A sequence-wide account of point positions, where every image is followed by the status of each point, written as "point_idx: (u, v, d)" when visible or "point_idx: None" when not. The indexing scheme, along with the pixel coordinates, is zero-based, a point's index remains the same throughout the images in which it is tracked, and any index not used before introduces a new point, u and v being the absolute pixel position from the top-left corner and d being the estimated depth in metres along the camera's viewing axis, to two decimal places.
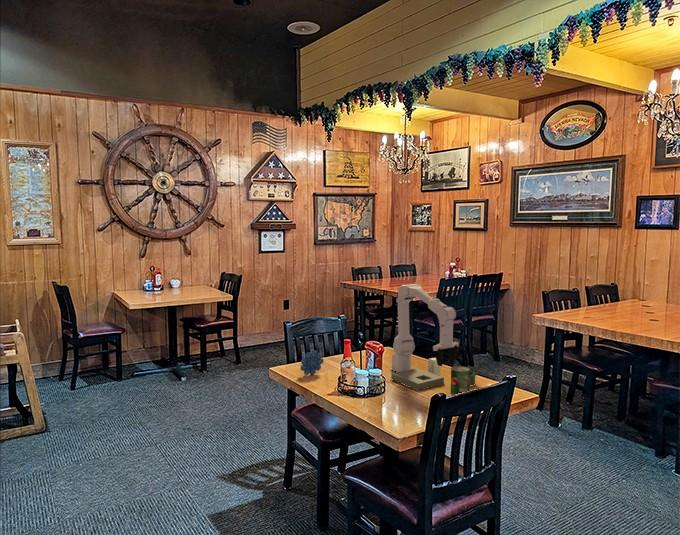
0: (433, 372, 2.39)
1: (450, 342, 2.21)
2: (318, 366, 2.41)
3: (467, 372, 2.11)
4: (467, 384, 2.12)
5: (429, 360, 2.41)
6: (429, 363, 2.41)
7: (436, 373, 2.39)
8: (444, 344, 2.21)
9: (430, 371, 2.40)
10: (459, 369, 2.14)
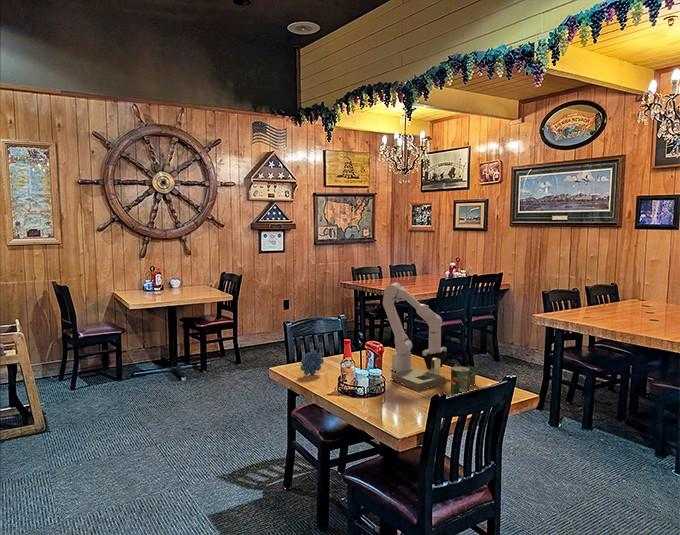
0: (433, 372, 2.39)
1: (438, 347, 2.38)
2: (318, 366, 2.41)
3: (467, 372, 2.11)
4: (467, 384, 2.12)
5: None
6: None
7: (436, 373, 2.39)
8: (433, 349, 2.38)
9: (430, 371, 2.40)
10: (459, 369, 2.14)
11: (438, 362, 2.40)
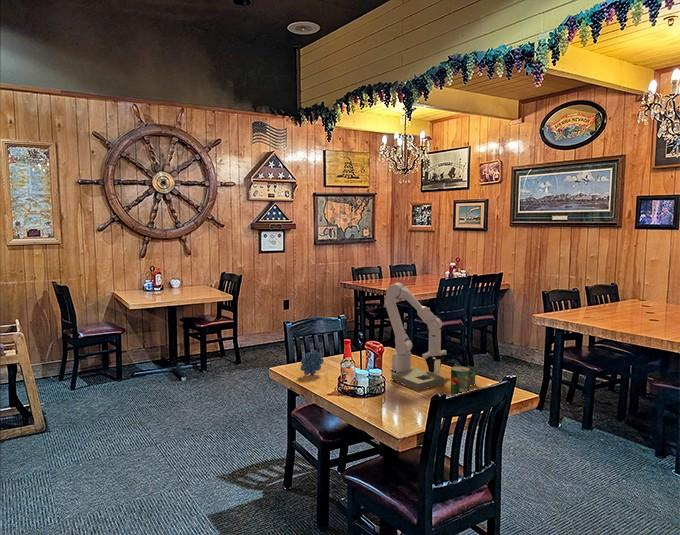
0: (433, 372, 2.39)
1: (438, 351, 2.38)
2: (318, 366, 2.41)
3: (467, 372, 2.11)
4: (467, 384, 2.12)
5: None
6: None
7: (436, 373, 2.39)
8: (432, 352, 2.38)
9: None
10: (459, 369, 2.14)
11: (438, 362, 2.40)
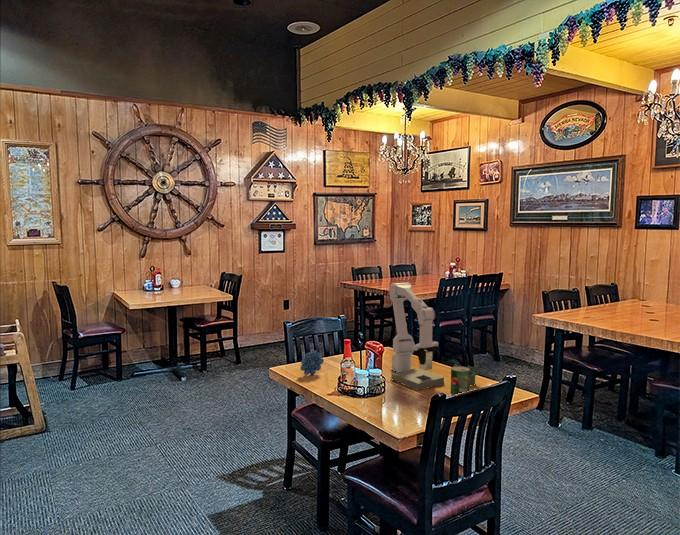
0: (425, 365, 2.26)
1: (429, 342, 2.25)
2: (318, 366, 2.41)
3: (467, 372, 2.11)
4: (467, 384, 2.12)
5: None
6: None
7: (427, 366, 2.27)
8: (423, 344, 2.25)
9: None
10: (459, 369, 2.14)
11: (430, 354, 2.27)
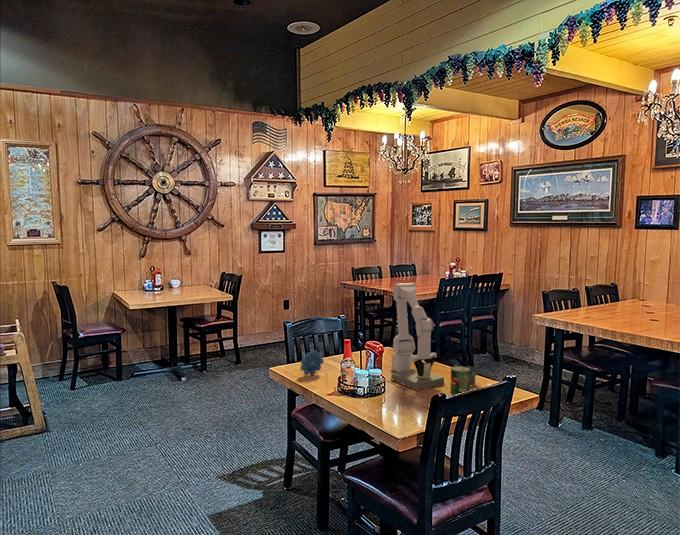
0: (423, 377, 2.25)
1: (427, 353, 2.24)
2: (318, 366, 2.41)
3: (467, 372, 2.11)
4: (467, 384, 2.12)
5: None
6: None
7: (425, 378, 2.25)
8: (422, 355, 2.24)
9: None
10: (459, 369, 2.14)
11: (428, 366, 2.25)
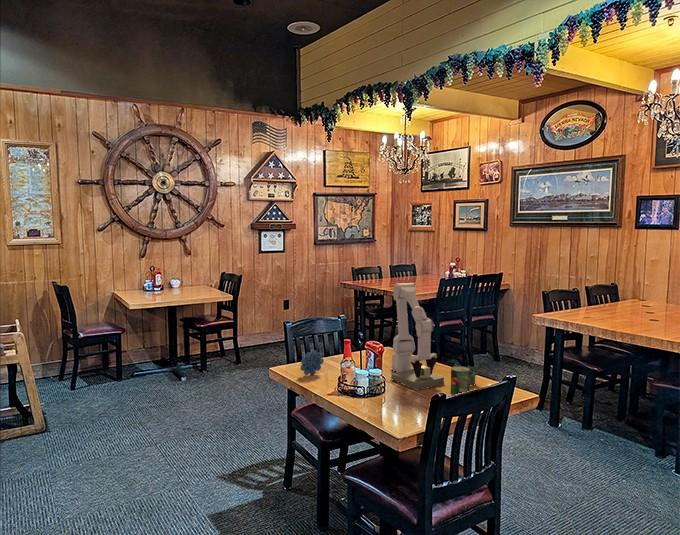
0: None
1: (427, 354, 2.24)
2: (318, 366, 2.41)
3: (467, 372, 2.11)
4: (467, 384, 2.12)
5: None
6: None
7: None
8: (422, 356, 2.24)
9: None
10: (459, 369, 2.14)
11: (428, 370, 2.26)
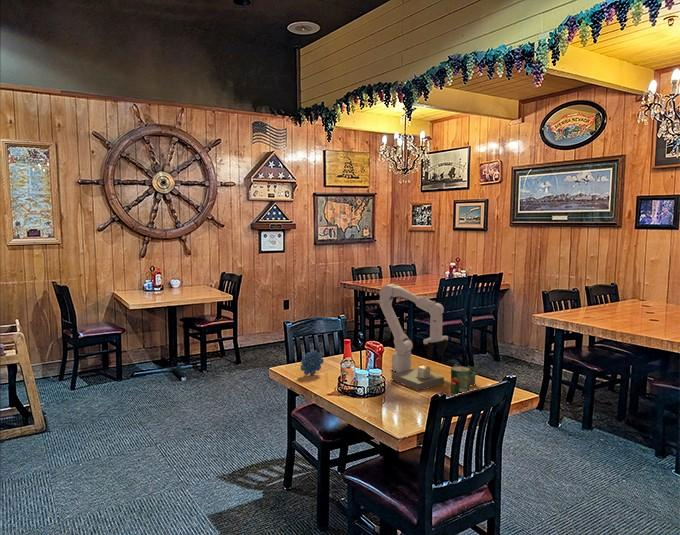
0: None
1: (439, 336, 2.36)
2: (318, 366, 2.41)
3: (467, 372, 2.11)
4: (467, 384, 2.12)
5: (418, 368, 2.27)
6: (418, 371, 2.27)
7: None
8: (434, 338, 2.36)
9: None
10: (459, 369, 2.14)
11: (428, 370, 2.26)
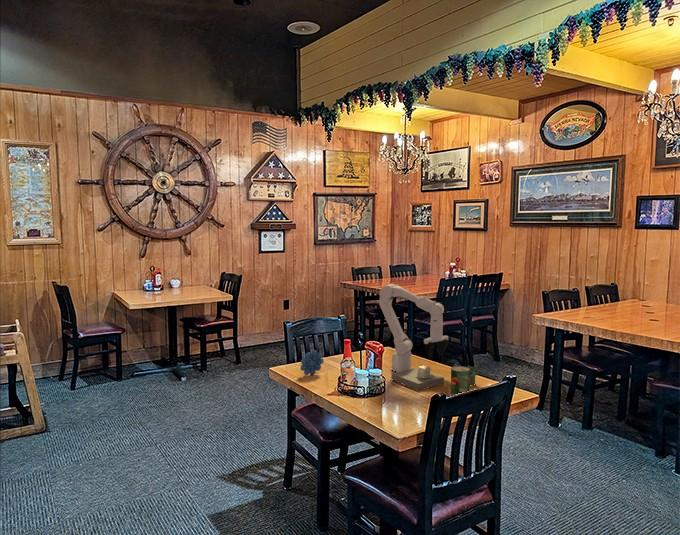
0: None
1: (440, 336, 2.36)
2: (318, 366, 2.41)
3: (467, 372, 2.11)
4: (467, 384, 2.12)
5: (418, 368, 2.27)
6: (418, 371, 2.27)
7: None
8: (434, 337, 2.36)
9: None
10: (459, 369, 2.14)
11: (428, 370, 2.26)
